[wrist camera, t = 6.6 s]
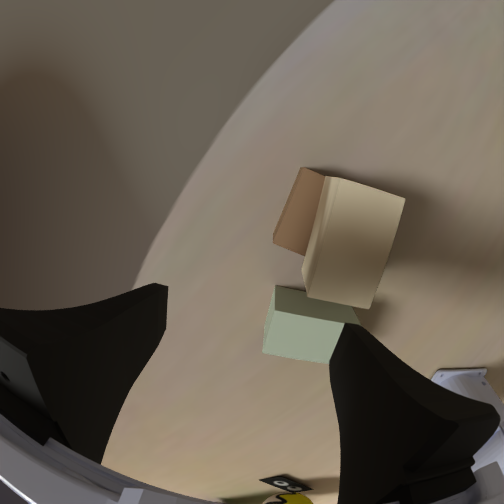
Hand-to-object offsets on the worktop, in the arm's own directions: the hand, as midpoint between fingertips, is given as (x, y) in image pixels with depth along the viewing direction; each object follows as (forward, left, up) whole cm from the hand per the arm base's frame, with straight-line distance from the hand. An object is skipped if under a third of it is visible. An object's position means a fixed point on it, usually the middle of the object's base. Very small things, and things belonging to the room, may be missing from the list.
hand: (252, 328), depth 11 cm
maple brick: (-4, -3, -7) cm, 9 cm away
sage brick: (-4, +4, -10) cm, 12 cm away
